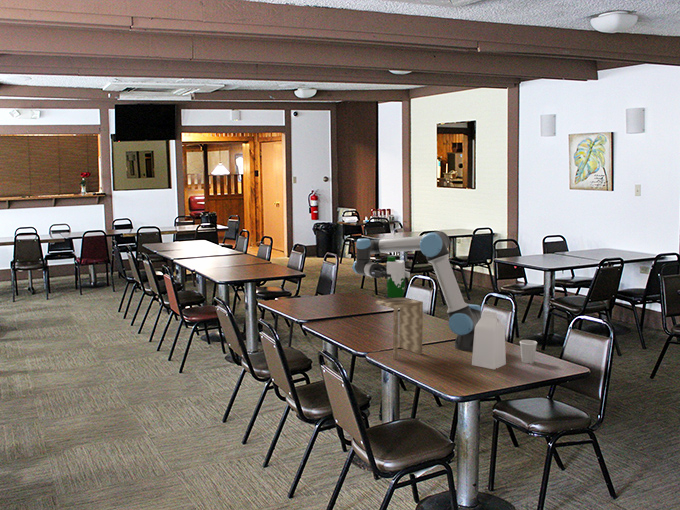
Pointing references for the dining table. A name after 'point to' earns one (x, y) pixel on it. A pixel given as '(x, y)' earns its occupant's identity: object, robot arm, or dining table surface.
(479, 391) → the dining table surface
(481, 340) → the milk
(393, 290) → the soya milk
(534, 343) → the dixie cup
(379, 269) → the robot arm
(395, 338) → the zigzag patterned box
